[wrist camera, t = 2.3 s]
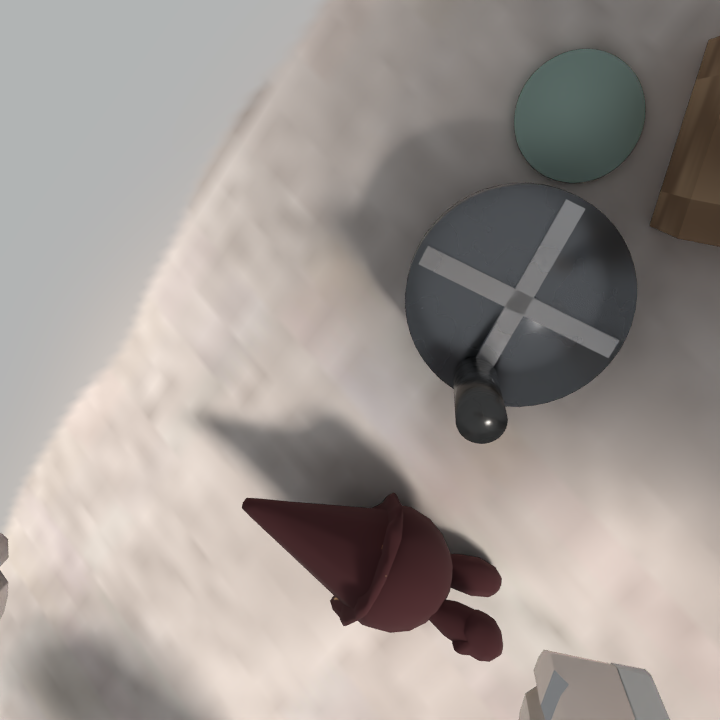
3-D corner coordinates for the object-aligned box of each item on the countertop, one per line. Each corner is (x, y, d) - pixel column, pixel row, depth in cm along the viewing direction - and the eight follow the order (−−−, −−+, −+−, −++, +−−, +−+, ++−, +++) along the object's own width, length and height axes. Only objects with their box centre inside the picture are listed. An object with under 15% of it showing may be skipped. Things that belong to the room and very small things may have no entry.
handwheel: (470, 142, 29) (478, 144, 24) (675, 245, 30) (732, 273, 24) (370, 340, 33) (355, 385, 27) (555, 430, 33) (580, 495, 27)
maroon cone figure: (197, 599, 34) (465, 709, 36) (248, 509, 30) (547, 639, 31) (238, 498, 39) (466, 597, 41) (285, 411, 35) (536, 526, 37)
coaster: (620, 192, 32) (622, 193, 31) (500, 169, 32) (501, 170, 31) (660, 62, 30) (662, 61, 29) (532, 38, 30) (533, 37, 30)
